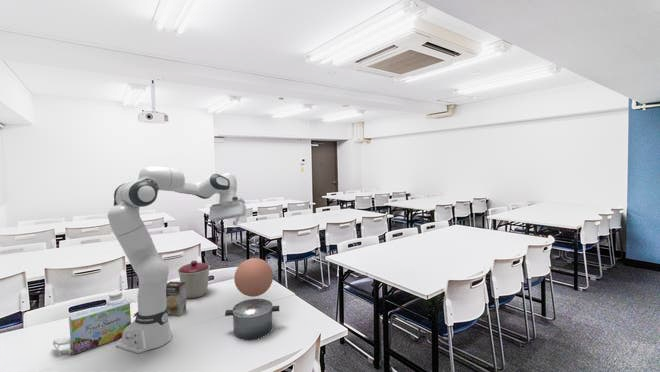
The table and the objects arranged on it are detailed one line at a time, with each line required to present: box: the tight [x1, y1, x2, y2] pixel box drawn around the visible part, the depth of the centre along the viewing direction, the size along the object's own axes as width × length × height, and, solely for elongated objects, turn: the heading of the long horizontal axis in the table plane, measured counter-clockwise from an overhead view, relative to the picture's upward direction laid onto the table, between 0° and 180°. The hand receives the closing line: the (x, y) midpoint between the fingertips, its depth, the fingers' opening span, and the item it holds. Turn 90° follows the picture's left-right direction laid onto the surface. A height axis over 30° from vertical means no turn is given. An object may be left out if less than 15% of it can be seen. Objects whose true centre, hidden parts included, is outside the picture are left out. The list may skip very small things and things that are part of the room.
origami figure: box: [52, 336, 72, 356], centre depth 131 cm, size 12×8×5 cm
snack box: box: [68, 300, 132, 355], centre depth 137 cm, size 21×6×15 cm, turn 139°
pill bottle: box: [106, 290, 127, 306], centre depth 155 cm, size 8×8×15 cm
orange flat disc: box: [233, 257, 274, 298], centre depth 157 cm, size 19×19×3 cm
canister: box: [177, 260, 211, 299], centre depth 187 cm, size 18×18×21 cm
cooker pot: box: [224, 298, 280, 341], centre depth 147 cm, size 25×19×11 cm
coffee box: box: [166, 281, 187, 317], centre depth 163 cm, size 9×6×16 cm
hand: (226, 226), depth 162 cm, fingers open, 8 cm apart
